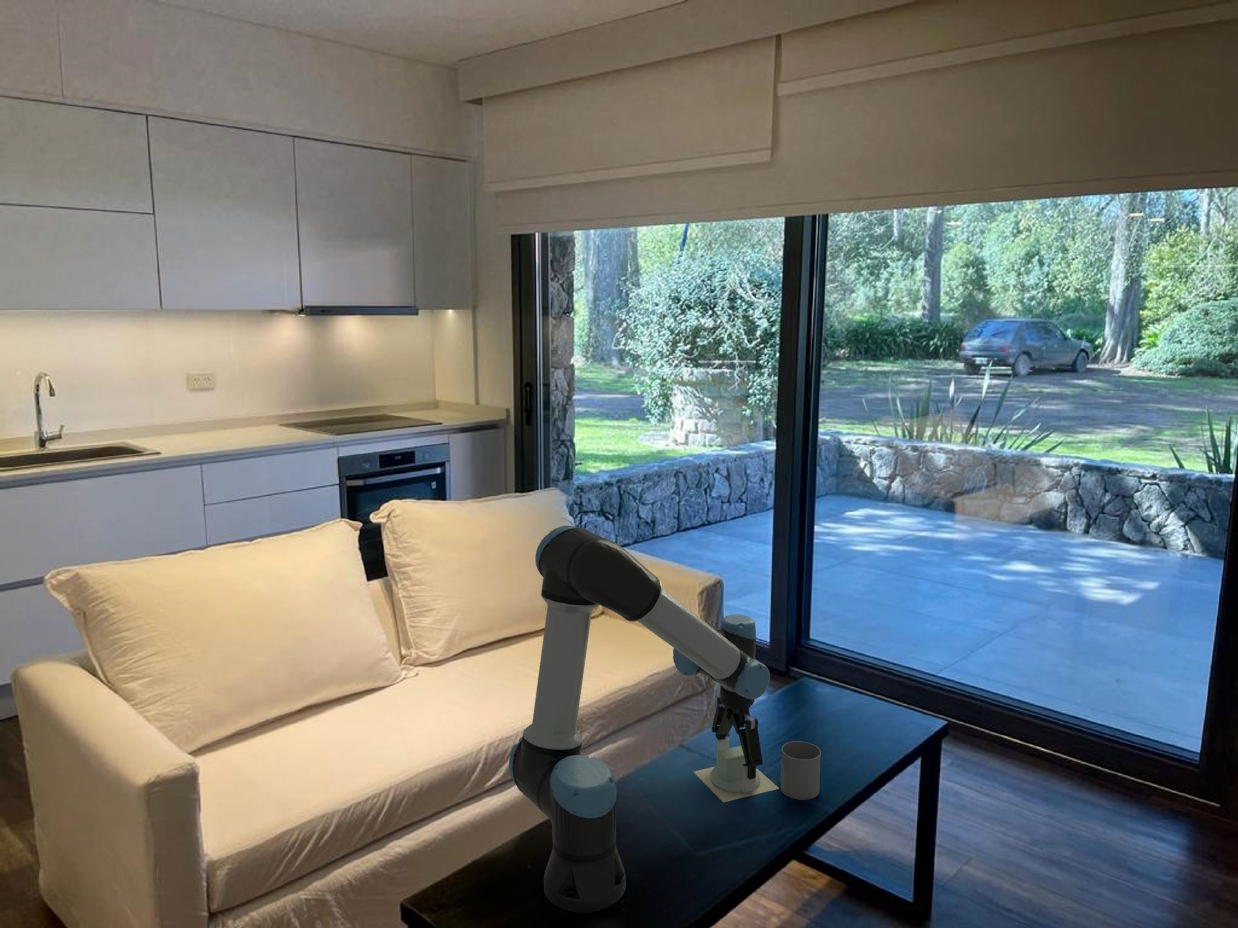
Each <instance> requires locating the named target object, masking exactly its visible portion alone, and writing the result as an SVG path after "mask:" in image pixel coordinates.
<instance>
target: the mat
mask: <svg viewBox="0 0 1238 928" xmlns="http://www.w3.org/2000/svg"><path fill="white" fill-rule="evenodd" d="M715 767H716V766H712V767H706V768H704V769H699V770H694V771H693V774H695V775H696V776H697V778H699V779H700V781H701V782H702V783H703V784H704V785H706V786H707V787H708V789H709V790H710V791H711V792H712V793H713V794H714V795H716V797H717V798H718V799H719V800H720V801H721V802H722V803H727V802H731V801H735V800H739V799H743V798H747V797H748V798H749V797H752V796H756V795H760V794H763V793H767V792H771V791H776V790H779V789H780V788H779V787H778V786H777V785H776V784H775V783H774V782H773V781H772V780H771V779H769V778H768V777H767V776H766V775H765V774H764V773H763V772H762V771H760V770H759V769H758V768H757V767H756V770H757V771H758V772H759V773H760V776H761V777H760V785H759V786H758V787H757V788H756V789H755V790H753V791H750V792H745V793H732V792H727V791H723V790H721V789H719V788H717V787H715V786H714V785H713V784H712V782H711V771H712V770H713V768H715Z"/></svg>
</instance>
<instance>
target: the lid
mask: <svg viewBox="0 0 1238 928" xmlns="http://www.w3.org/2000/svg"><path fill="white" fill-rule="evenodd" d="M743 763H746V762H745V758H744V754H743V750H742V746H741V745H739V746H738V745H737V746H732V747H729V748H728V749H724V750H719V751H718V766H717V765H716V766H714V767H715V768H713V770H712V771H711V782H712V784H713V785H714V786H715V787H717V788H719V789H721V790H723V791H727V792H732V793H744V792H743ZM760 777H761V776H760V773H759V772H758V771H757V770H756V780H755V789H756V788H757V787H758V786H759V785H760ZM749 792H750V791H749Z"/></svg>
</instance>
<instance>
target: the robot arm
mask: <svg viewBox="0 0 1238 928" xmlns="http://www.w3.org/2000/svg"><path fill="white" fill-rule="evenodd" d="M534 557H535V559H534V560H535V566H536V569H537V572H539V573H538V574H539V575H540V576H541V577H542V583H541V585H542V586H541V593H540V597H541V598H542V599H543V601H544V602H545V603H546V604H547V608H546V616H545V625H544V631H543V638H542V647H541V651H540V652H541V654H540V661H539V670H538V677H537V684H536V691H535V692H536V693H535V700H534V707H533V715H532V721H531V722H532V723H531V724H529V725H528V726H526V727H525V728H524V729H523V732H522V736H521V737H520V738H519V739H518V743H515V744H513V745H514V746H513V747H512V749H511V751H510V754H509V758H508V759H509V760H508V772H509V774H510V775H509V776H510V777H511V780H512V781H513V783H514V784H515V786H516V787H517V789H518V791H519V792H520V793H522V795H523V796H525V798H527V799H529V801H530V802H532V803H533V805H535V806H536V807H537V808H538V809H539V810H540V811H541V812H542V814H544V815H545V816H546V817H547V818H548V819H549V820H550V821H551V825H552V827H551V828H552V829H551V830H552V831H551V832H552V833H551V835H552V850H551V853H550V856H549V859H548V862H547V864H546V866H545V867H546V868H545V870H544V875H543V892H544V895H545V897H546V898H547V900H548V901H549V902H550V903H551V904H553V905H554V906H555V907H558V908H559V909H561V910H564V911H567V912H573V913H583V914H584V913H594V912H598V911H602V910H604V909H607V908H610V907H613V905H614V904H616V903H617V902H619V901H620V900H621V898H622V897H623V895H624V894H625V891H626V885H627V884H626V871H625V868H624V865H623V861H622V859H621V857H620V855H619V851H618V849H617V840H616V839H617V820H616V819H617V812H616V811H617V801H616V800H617V796H618V795H617V794H618V793H617V792H618V791H617V785H616V778H615V775H614V773H613V770H612V769H611V767H610V766H609V765H608V764H607V763H605V762H604V761H603V760H601V759H599V758H597V757H594V756H593V757H589V756H588V755H584V754H582V746H583V736H582V734H581V733H580V732H579V731H578V729H577V725H578V724H577V723H578V717H579V712H580V711H579V710H580V704H581V703H580V702H581V694H582V688H583V680H584V673H585V664H586V657H587V650H588V643H589V635H590V630H591V629H590V627H591V622H592V613H593V610H595V609H596V608H597V607H599V606H601V607H603V608H605V609H607V610H610V611H612V612H613V613H614V614H617V615H619V616H621V617H622V618H623V619H624V620H626V621H628V622H632V623H633V622H638V623H639V624H641V625H642V626H643V627H645V628H646V629H648V630H649V631H650V632H652V633H653V634H654V635H655V636H657V637H658V638H660V639H661V640H662V641H664V642H665V643H666V644H668V645H669V646H671V647H672V648H673V649H672V653H673V654H672V655H673V656H672V658H673V663H674V666H675V667H676V669H677V671H678V672H679V674H681V675H682V676H686V677H688V676H689V677H690V676H696V675H697V674H701V675H702V676H705V677H707V679H710V680H712V681H714V682H716V683H718V684H719V685H720V686H719V696H718V697H717V698H716V707H715V712H714V716H713V721H712V724H711V732H712V733H715V734H714V735H715V738H716V739H717V740H716V766H718V751H719V750H724V749H728V748H730V738H729V737H730V732H731V730H732V728H734V730H735V733H736V734H737V735H738V738H739V742H740V746H742V750H743V754H744V758H745V762H746V763H743V792H744V793H745V792H749V791H753V790H755V780H756V768H757V767H758V766H762V765H763V764H764V762H763V756H762V747H761V741H760V736H759V729H758V728H759V720H758V719H757V717H756V718H752V717H751V713H750V708H751V707H752V706H753V705H754V703H755V700H756V699H758V698H760V697H762V695H764V694H765V692H766V690H767V689H768V687H769V685H770V682H771V681H770V679H771V673H770V670H769V669H768V667H767V666H766V665H765V664H764V663H762V662H760V661H759V660H758V659H756V651H757V650H756V647H757V644H756V643H757V630H756V629H757V627H756V621H755V620H754V619H753V618H751V617H750V616H746V615H743V614H729V615H725V616H724V617H723V618H722V619H721V620H720V625H719V626H720V629H717V630H716V629H715V628H713V627H712V626H711V625H709V623H707V622H706V621H704V620H703V619H702V618H701V617H700V616H698V615H697V614H695V613H694V612H693V611H692V610H691V609H689V608H688V607H687V606H686V605H684V604H683V603H682V602H680V601H679V600H677V599H676V598H675V597H674V596H673V595H672V594H671V593H669V592H668V591H666V590H665V589H664V588H663V587H662V586H663V585H662V583H661V580H660V578H658V576H656V575H655V574H654V573H652V572H651V570H649V569H648V568H647V567H646V566H645V565H644V564H642V563H641V562H640V561H639V560H638V559H637V558H636V557H634V556H633V555H632V554H631V553H630V552H628V550H626V549H625V548H624V547H623V546H621V545H620V544H618V543H617V542H616V541H613V540H611V539H608V538H605V537H602V536H601V535H598V534H596V533H593V532H591V531H590V530H588V529H586V528H584V527H578V526H574V525H563V526H557V527H555V528H554V529H552V530H550V531H549V533H548V534H546V535H545V536H544V537H543V538H542V539H541V540H540V541H539V544H538V546H537V549H536V552H535V556H534Z"/></svg>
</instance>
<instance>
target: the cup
mask: <svg viewBox="0 0 1238 928" xmlns="http://www.w3.org/2000/svg"><path fill="white" fill-rule="evenodd" d="M821 750H822V749H820V748H819V747H818V746H817V745H815V744H812V743H810V742H806V741H803V740H800V741H797V740H796V741H789V742H787V743H785V744H783V746H781V768H780V770H781V771H780V772H781V773H780V774H781V775H780V791H781V792H782V793H783V794H784V795H785V796H787V797H789V798H791V799H795V800H800V801H801V800H803V801H804V800H805V801H806V800H811V799H815V798H816V797H817V796H818V795H819V794H820V784H821V783H820V781H821V779H820V778H821V755H822V754H821V753H822V751H821Z"/></svg>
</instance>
